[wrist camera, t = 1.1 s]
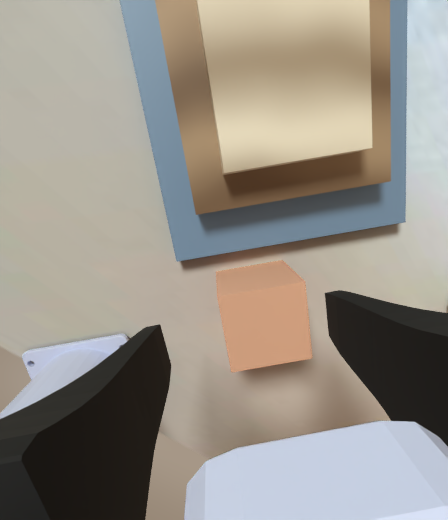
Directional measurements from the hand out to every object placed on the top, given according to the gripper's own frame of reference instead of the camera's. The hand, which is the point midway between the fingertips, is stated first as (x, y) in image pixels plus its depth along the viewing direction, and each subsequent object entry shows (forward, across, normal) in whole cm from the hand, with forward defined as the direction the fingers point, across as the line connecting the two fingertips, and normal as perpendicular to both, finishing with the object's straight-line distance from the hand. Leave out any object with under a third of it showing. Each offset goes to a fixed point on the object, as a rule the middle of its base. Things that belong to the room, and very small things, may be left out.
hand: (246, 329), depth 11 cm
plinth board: (+9, -5, -11) cm, 14 cm away
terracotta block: (+9, -1, +2) cm, 9 cm away
